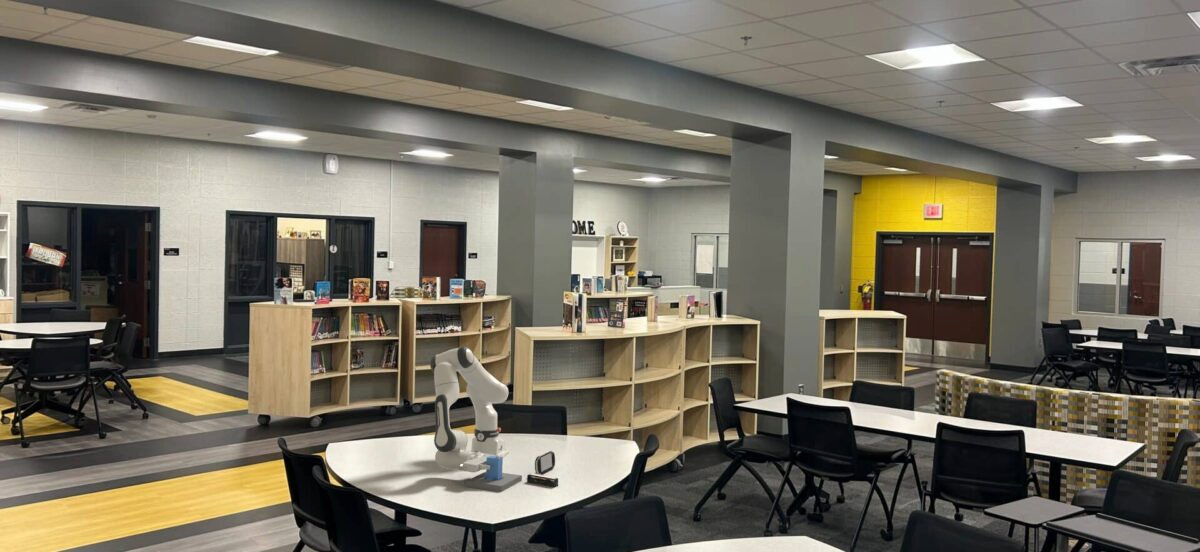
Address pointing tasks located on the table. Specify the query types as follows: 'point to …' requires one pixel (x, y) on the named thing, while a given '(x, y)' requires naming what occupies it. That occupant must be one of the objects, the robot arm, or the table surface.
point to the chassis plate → (493, 482)
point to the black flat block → (542, 480)
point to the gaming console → (545, 463)
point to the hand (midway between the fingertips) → (495, 465)
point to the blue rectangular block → (494, 468)
